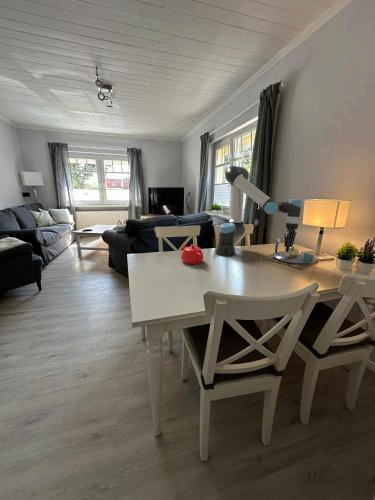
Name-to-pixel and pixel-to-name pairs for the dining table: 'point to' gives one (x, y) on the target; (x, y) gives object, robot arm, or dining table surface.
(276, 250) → the indicator
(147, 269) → the dining table surface
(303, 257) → the platter
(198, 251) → the teapot
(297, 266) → the plinth
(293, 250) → the cover
